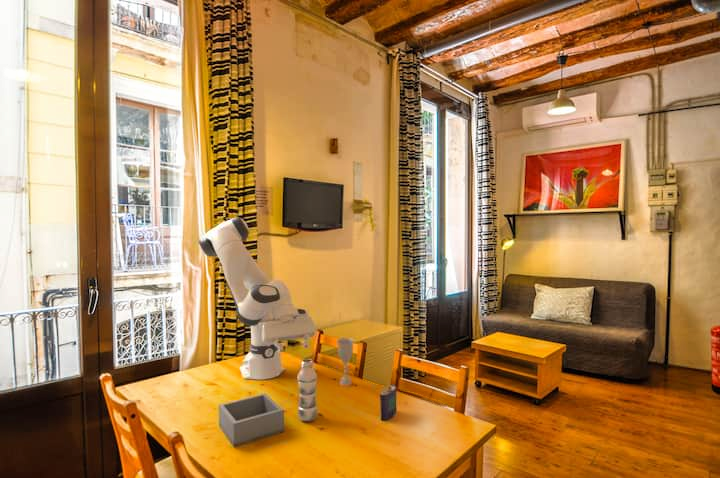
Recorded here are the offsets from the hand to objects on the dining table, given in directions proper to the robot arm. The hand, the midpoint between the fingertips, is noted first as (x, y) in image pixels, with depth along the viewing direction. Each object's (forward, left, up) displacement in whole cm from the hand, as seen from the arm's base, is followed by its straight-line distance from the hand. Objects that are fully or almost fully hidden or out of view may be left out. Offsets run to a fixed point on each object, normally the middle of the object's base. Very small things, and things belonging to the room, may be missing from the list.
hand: (294, 348), depth 146 cm
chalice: (-8, +27, -21) cm, 36 cm away
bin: (+7, -19, -21) cm, 29 cm away
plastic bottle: (+12, -1, -21) cm, 24 cm away
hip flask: (+26, +23, -21) cm, 41 cm away
